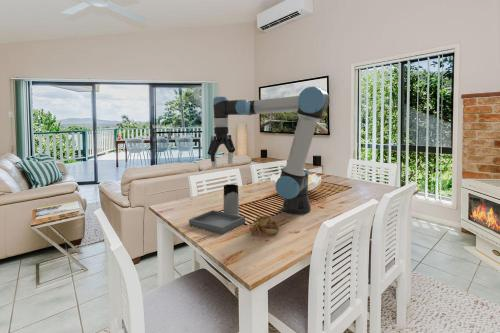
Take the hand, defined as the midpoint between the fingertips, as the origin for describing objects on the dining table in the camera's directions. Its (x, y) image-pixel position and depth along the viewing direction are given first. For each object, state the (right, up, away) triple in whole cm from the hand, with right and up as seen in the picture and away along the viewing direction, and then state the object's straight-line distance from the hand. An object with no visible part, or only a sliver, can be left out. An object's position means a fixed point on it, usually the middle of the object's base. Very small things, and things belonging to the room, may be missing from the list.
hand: (222, 165), depth 162 cm
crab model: (+22, -29, -30) cm, 47 cm away
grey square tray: (0, -28, -21) cm, 35 cm away
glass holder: (+4, -25, -3) cm, 26 cm away
